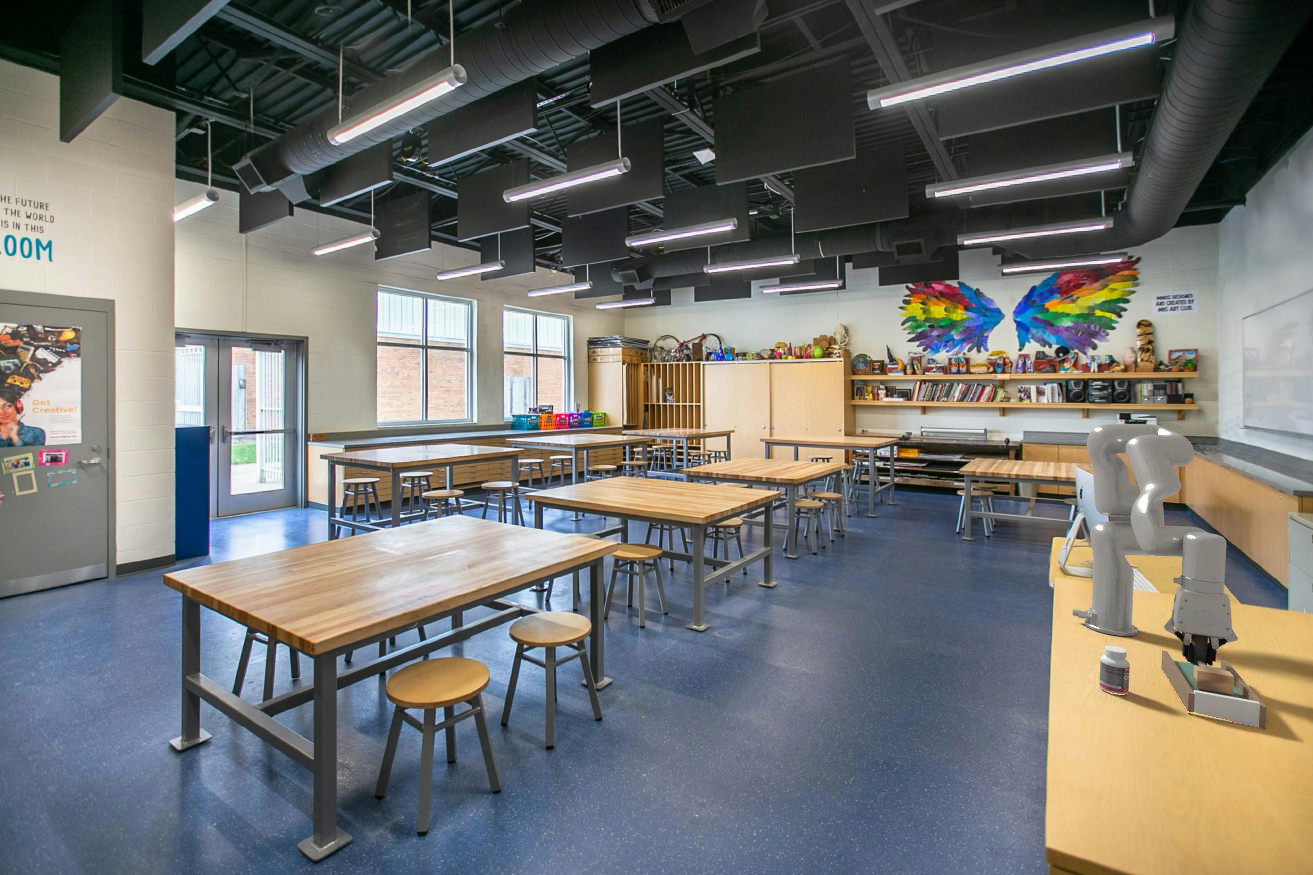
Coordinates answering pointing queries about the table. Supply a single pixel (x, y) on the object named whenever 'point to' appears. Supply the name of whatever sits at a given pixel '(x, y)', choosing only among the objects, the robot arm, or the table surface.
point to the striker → (1208, 669)
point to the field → (1215, 695)
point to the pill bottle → (1114, 670)
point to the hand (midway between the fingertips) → (1198, 660)
